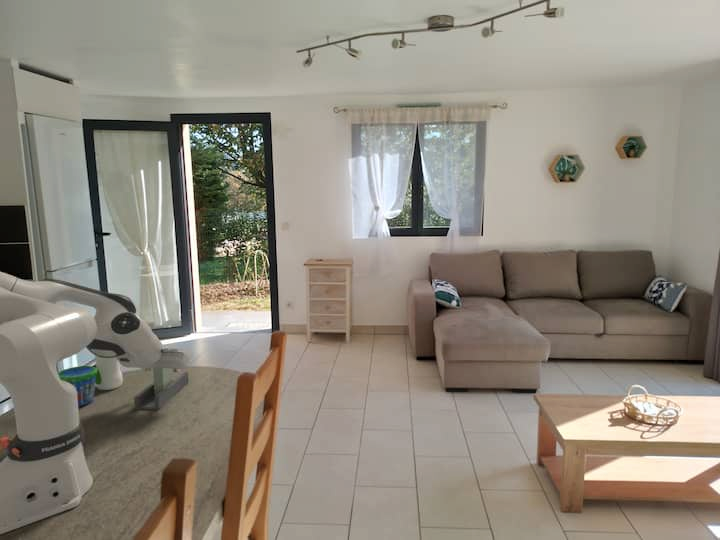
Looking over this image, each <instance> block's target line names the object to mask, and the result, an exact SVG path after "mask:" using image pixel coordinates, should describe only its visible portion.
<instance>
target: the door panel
mask: <svg viewBox="0 0 720 540" xmlns="http://www.w3.org/2000/svg"><path fill="white" fill-rule="evenodd" d="M152 371H153V372H152V373H153V382H154V392H155V396H157V395H158V394H159V393H161V392H162V391H163V390H164V389H165V388H166V387H168V386H169V385H170V384H171V383H172V380H173V378H172V377H173V376H172V368H152Z"/></svg>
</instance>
